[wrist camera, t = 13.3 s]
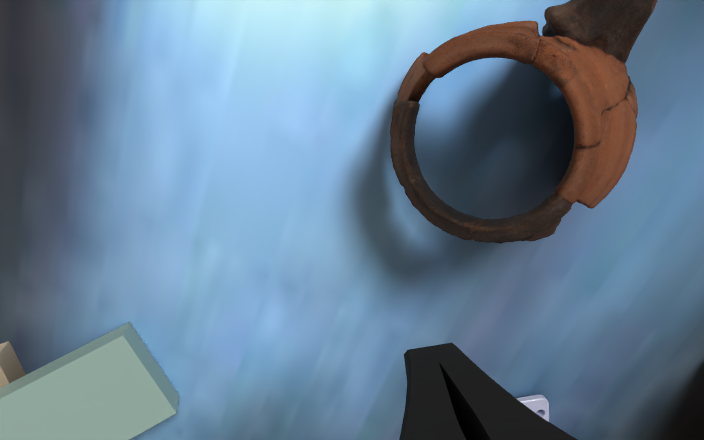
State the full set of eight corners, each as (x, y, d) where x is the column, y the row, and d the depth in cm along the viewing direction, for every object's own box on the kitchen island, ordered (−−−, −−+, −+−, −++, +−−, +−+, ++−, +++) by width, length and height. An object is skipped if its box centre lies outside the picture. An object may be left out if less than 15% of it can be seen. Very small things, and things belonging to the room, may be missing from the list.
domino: (176, 413, 22) (18, 502, 20) (179, 395, 23) (32, 477, 22) (122, 335, 20) (-52, 425, 19) (129, 321, 22) (-32, 404, 21)
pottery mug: (549, 239, 23) (532, 314, 16) (400, 150, 25) (329, 180, 18) (733, 5, 17) (836, -41, 10) (517, -83, 19) (478, -169, 12)
